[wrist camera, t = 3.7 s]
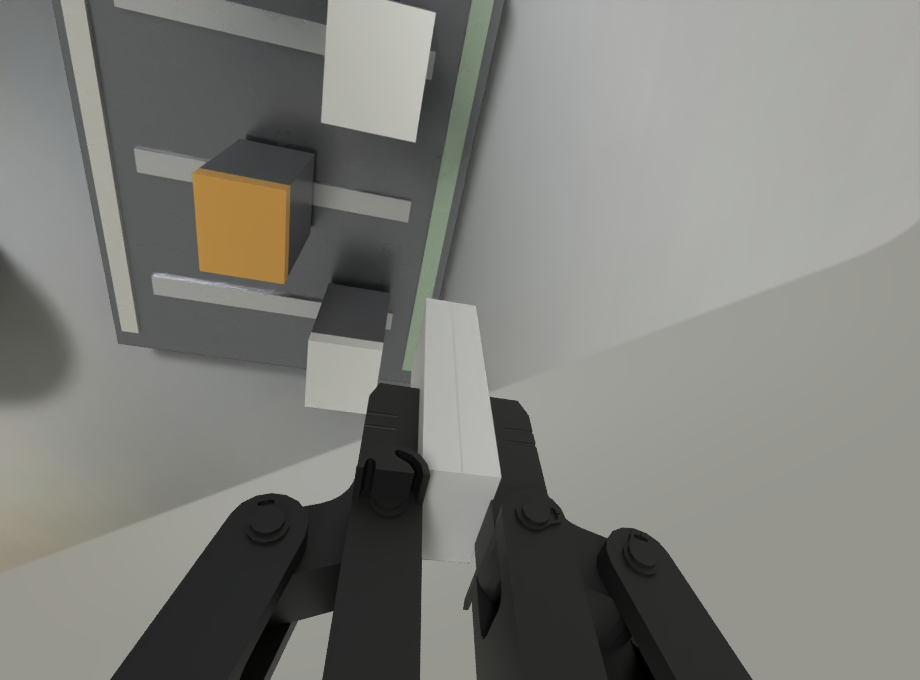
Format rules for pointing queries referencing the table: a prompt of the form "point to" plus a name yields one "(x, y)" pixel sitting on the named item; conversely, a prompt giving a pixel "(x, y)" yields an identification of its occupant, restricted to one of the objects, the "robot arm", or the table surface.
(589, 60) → the table surface
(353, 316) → the breaker far
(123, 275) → the panel
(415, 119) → the block
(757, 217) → the table surface
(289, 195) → the block
